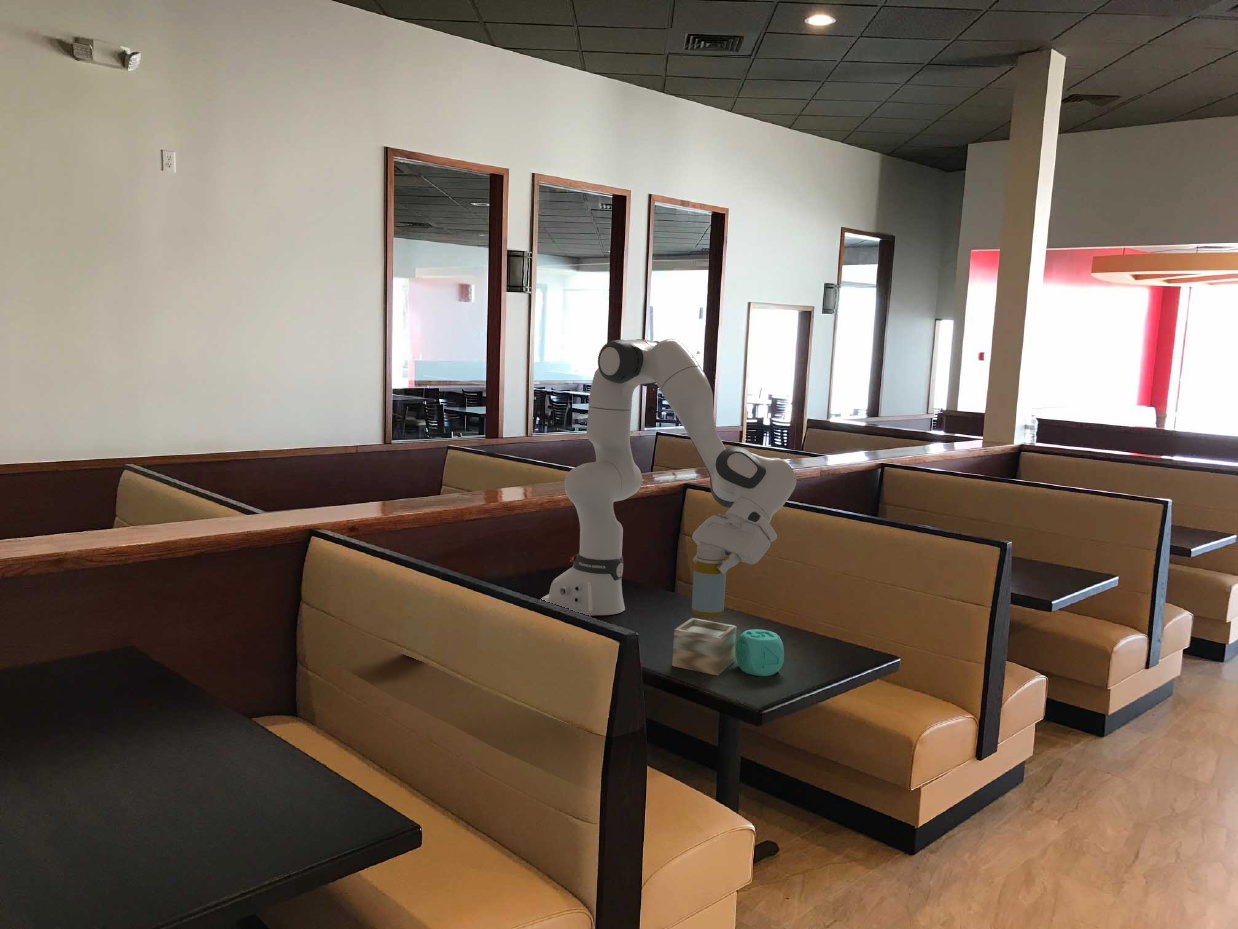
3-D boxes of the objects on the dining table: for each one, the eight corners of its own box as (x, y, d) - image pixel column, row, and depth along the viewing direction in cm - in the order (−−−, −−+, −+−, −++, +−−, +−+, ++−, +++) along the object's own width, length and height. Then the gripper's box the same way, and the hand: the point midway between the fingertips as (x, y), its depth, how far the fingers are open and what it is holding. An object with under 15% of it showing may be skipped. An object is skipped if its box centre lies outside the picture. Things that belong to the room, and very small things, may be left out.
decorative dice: (783, 675, 200) (785, 639, 199) (749, 677, 198) (751, 641, 197) (767, 663, 208) (769, 628, 207) (734, 664, 205) (736, 629, 204)
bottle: (725, 611, 206) (729, 545, 204) (720, 619, 199) (725, 551, 197) (694, 607, 208) (698, 542, 206) (688, 616, 201) (692, 548, 199)
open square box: (672, 665, 202) (674, 629, 201) (690, 652, 212) (692, 617, 211) (717, 675, 198) (720, 638, 197) (734, 661, 207) (736, 626, 206)
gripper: (709, 503, 213) (672, 547, 209) (768, 519, 196) (729, 568, 192) (723, 520, 216) (687, 565, 212) (783, 538, 199) (744, 587, 195)
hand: (707, 567), depth 202 cm, fingers closed on bottle, 7 cm apart
